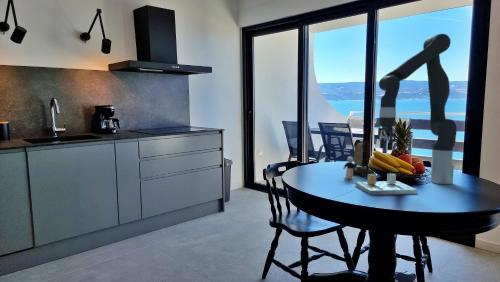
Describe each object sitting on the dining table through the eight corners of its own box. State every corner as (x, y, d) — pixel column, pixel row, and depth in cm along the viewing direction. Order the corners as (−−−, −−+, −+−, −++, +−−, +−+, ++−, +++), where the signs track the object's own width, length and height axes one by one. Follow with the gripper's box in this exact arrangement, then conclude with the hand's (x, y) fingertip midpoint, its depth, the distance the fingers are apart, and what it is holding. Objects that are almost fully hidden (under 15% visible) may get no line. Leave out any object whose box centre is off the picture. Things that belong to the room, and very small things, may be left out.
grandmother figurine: (341, 179, 181) (342, 156, 180) (343, 177, 185) (344, 155, 183) (356, 180, 178) (357, 157, 176) (357, 179, 181) (358, 156, 180)
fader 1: (373, 182, 163) (373, 173, 163) (375, 184, 160) (376, 174, 160) (367, 182, 163) (367, 173, 162) (369, 184, 160) (370, 174, 159)
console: (397, 184, 168) (397, 180, 168) (416, 193, 151) (417, 189, 151) (355, 185, 166) (355, 181, 166) (370, 194, 149) (370, 190, 149)
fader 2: (392, 182, 164) (392, 173, 163) (395, 183, 161) (396, 174, 160) (386, 182, 164) (387, 173, 163) (389, 183, 161) (390, 174, 160)
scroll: (342, 172, 199) (343, 139, 197) (361, 170, 205) (362, 138, 203) (360, 177, 185) (361, 142, 183) (380, 175, 192) (381, 140, 189)
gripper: (402, 117, 158) (400, 151, 160) (387, 116, 173) (386, 147, 174) (387, 117, 158) (385, 151, 160) (373, 116, 172) (372, 147, 174)
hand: (385, 149), depth 167 cm, fingers open, 7 cm apart
